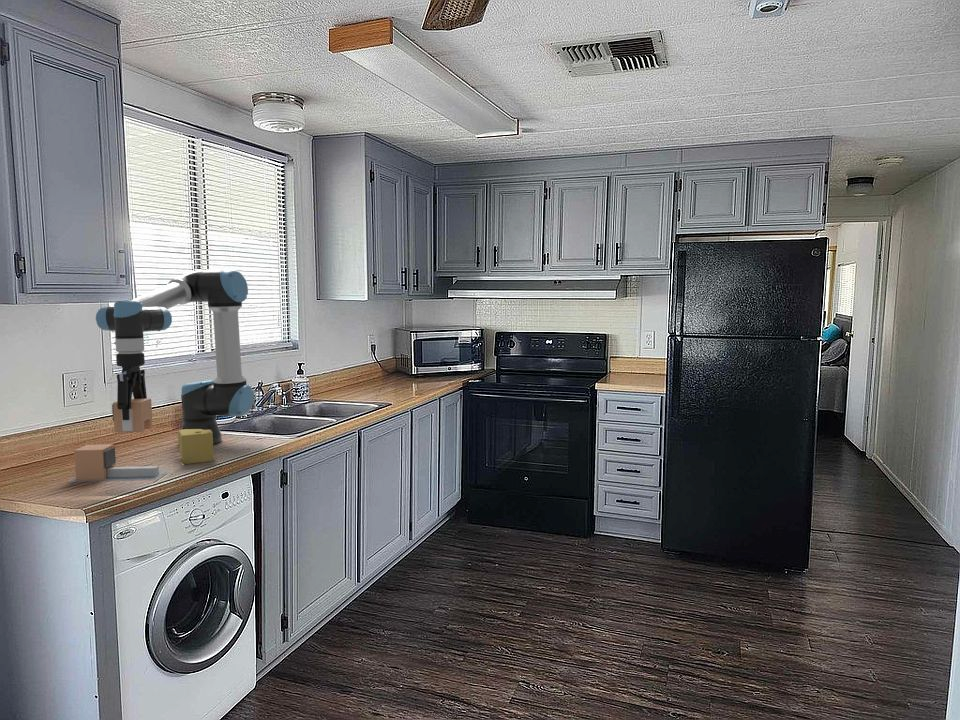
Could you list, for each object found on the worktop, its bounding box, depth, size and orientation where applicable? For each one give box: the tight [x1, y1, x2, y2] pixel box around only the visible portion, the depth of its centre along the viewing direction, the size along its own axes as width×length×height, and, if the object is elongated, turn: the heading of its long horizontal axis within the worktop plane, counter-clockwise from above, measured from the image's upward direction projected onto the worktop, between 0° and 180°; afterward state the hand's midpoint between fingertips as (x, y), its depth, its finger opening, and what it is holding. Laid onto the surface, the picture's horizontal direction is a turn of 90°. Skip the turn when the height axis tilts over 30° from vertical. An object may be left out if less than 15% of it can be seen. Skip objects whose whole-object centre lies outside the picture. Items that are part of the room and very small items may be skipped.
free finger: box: [111, 398, 153, 434], centre depth 204 cm, size 7×9×9 cm
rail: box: [66, 465, 167, 484], centre depth 206 cm, size 10×25×4 cm, turn 94°
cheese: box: [177, 429, 215, 465], centre depth 229 cm, size 10×11×10 cm
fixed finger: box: [73, 443, 117, 480], centre depth 205 cm, size 7×9×9 cm
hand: (133, 428), depth 204 cm, fingers closed on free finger, 7 cm apart
